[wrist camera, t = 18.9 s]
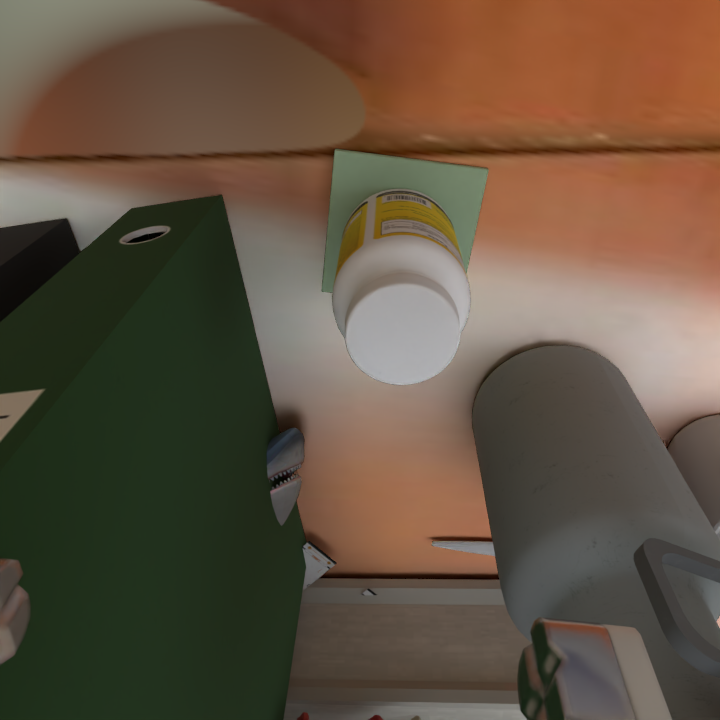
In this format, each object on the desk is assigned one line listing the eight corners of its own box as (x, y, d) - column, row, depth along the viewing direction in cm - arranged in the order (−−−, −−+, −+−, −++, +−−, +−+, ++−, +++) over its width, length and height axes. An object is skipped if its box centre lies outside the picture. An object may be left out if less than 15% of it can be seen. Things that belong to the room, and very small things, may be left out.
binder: (318, 551, 48) (217, 1317, 20) (131, 565, 50) (-193, 1290, 22) (221, 194, 34) (-459, 1043, 7) (-30, 232, 36) (-1368, 1028, 9)
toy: (313, 510, 34) (193, 383, 37) (126, 736, 41) (38, 617, 44) (383, 467, 43) (282, 367, 45) (218, 660, 50) (140, 564, 53)
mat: (335, 148, 33) (334, 150, 33) (487, 167, 33) (488, 169, 33) (322, 288, 37) (321, 291, 37) (458, 305, 37) (458, 308, 37)
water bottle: (522, 309, 37) (756, 906, 13) (664, 368, 39) (1103, 998, 15) (444, 436, 42) (510, 1040, 18) (572, 484, 44) (790, 1098, 20)
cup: (763, 487, 43) (838, 590, 36) (609, 499, 44) (652, 601, 37) (783, 393, 39) (871, 488, 32) (615, 409, 41) (663, 504, 33)
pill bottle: (375, 310, 37) (369, 422, 28) (321, 218, 35) (295, 308, 25) (473, 264, 36) (503, 367, 26) (425, 164, 33) (439, 238, 23)
